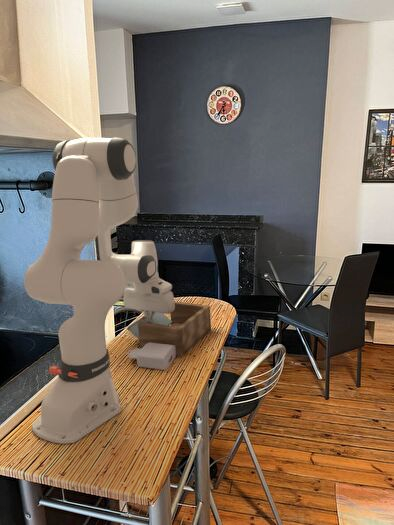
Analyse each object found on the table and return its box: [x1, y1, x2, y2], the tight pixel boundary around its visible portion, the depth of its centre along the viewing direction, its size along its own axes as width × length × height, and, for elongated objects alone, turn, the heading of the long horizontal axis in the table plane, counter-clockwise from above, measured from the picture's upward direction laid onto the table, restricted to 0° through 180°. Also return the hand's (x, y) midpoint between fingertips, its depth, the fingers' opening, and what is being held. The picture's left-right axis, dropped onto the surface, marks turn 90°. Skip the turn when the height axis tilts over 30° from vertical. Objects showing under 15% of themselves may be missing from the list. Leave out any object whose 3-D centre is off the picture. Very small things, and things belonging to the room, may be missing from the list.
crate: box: [138, 300, 212, 358], centre depth 139 cm, size 22×16×10 cm
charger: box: [125, 343, 177, 371], centre depth 126 cm, size 5×9×15 cm
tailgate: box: [126, 312, 172, 340], centre depth 144 cm, size 18×1×8 cm
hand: (149, 321), depth 144 cm, fingers closed, pressing on tailgate
